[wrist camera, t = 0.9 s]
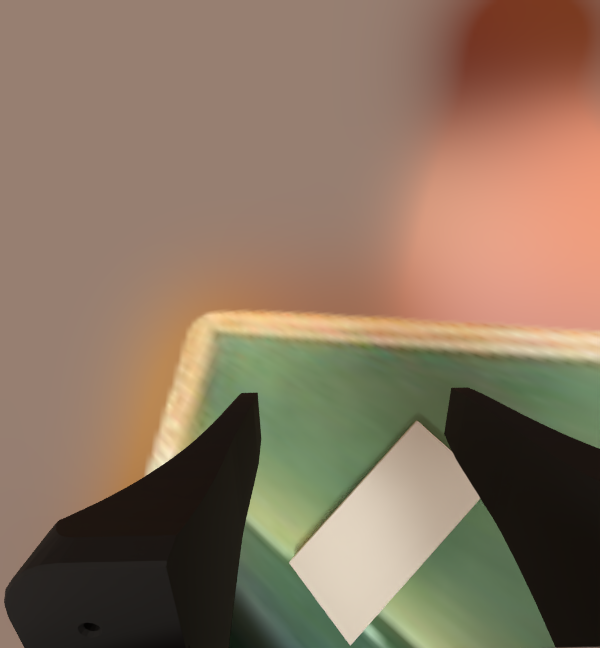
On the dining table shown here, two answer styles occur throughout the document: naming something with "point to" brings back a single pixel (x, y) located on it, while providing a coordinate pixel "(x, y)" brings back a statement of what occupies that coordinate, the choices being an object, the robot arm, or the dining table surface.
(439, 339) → the dining table surface
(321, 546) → the beige rectangular block
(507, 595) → the dining table surface
